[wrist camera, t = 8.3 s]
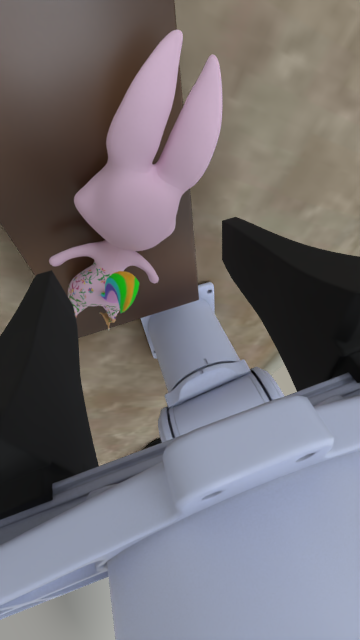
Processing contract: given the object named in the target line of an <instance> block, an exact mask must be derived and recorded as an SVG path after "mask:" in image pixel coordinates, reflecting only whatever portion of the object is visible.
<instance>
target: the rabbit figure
mask: <svg viewBox="0 0 360 640" xmlns="http://www.w3.org/2000/svg"><path fill="white" fill-rule="evenodd" d="M182 41H183V35H182V32H181V31H180V30H173V31H171V32H170V33H169V34H168V35H166V36H165V38H164V39H163V40H162V41H161V42H160V43H159V44H158V45H157V47H156V48H155V49H154V51H153V52H152V53H151V55H150V56H149V58H148V59H147V60H146V62H145V63H144V64H143V66H142V67H141V69H140V70H139V72H138V73H137V75H136V76H135V78H134V80H133V81H132V83H131V85H130V87H129V88H128V90H127V92H126V94H125V96H124V98H123V100H122V102H121V104H120V106H119V108H118V110H117V112H116V114H115V116H114V118H113V120H112V123H111V125H110V128H109V131H108V134H107V139H106V147H107V153H108V161H107V164H106V165H105V166H104V167H103V168H102V169H101V170H100V171H99V172H98V173H97V174H96V175H95V176H94V177H93V178H92V179H91V180H90V181H89V182H88V183H87V184H86V185H85V186H84V187H83V188H81V189H80V190H79V191H78V192H77V193H76V195H75V197H74V204H75V206H76V208H77V210H78V211H79V213H80V214H81V215H82V217H83V218H84V219H85V220H86V221H87V223H88V224H89V225H90V226H91V227H92V228H93V229H94V230H95V231H96V232H97V233H98V234H99V235H101V236H102V237H103V238H104V239H105V240H104V241H101V242H95V243H88V244H84V245H80V246H76V247H73V248H70V249H67V250H65V251H62V252H60V253H58V254H56V255H54V256H52V257H51V258H50V259H49V263H50V264H51V265H52V266H59V265H61V264H63V263H64V262H65V261H67V260H69V259H72V258H76V257H81V256H88V257H91V258H93V259H94V263H93V265H91V266H90V267H88V268H86V269H85V270H83V271H82V272H80V273H79V274H77V275H76V276H75V277H74V278H73V279H72V281H71V282H70V284H69V287H68V298H69V300H70V301H71V303H72V305H73V307H74V312H75V317H77V314H79V313H80V312H81V311H83V310H84V309H85V308H87V307H88V306H103V308H104V309H105V311H106V313H101V312H100V314H102V315H103V317H104V319H105V321H106V324H107V325H108V331H109V326H110V323H111V322H113V323H114V322H115V321H116V316H117V314H118V313H119V311H120V313H123V312H124V311H126V310H127V309H128V308H129V307H130V306H131V305H132V303H133V301H134V300H135V297H136V295H137V292H138V289H139V281H138V280H137V278H136V277H135V276H134V275H133V274H131V273H129V272H126V271H124V270H125V268H127V267H129V266H137V267H139V268H141V269H142V270H144V271H145V272H146V273H147V275H148V278H149V280H150V282H152V283H157V282H158V280H159V278H158V275H157V274H156V272H155V270H154V269H153V267H152V266H151V265H150V263H149V262H148V261H147V260H146V259H144V258H143V257H142V256H141V255H140V254H138V253H137V252H135V251H143V250H147V249H150V248H152V247H154V246H156V245H157V244H159V243H160V242H161V241H163V240H164V239H165V238H167V237H168V236H169V235H171V234H172V233H173V231H174V229H175V225H176V214H177V211H178V206H179V202H180V199H181V196H182V195H183V194H184V193H185V192H186V191H187V190H188V189H190V188H191V187H192V186H194V185H195V184H196V183H197V182H198V181H199V179H200V178H201V177H202V175H203V174H204V172H205V170H206V169H207V167H208V165H209V163H210V160H211V158H212V155H213V153H214V150H215V147H216V144H217V141H218V137H219V133H220V128H221V121H222V82H221V73H220V66H219V62H218V59H217V57H216V56H215V55H213V54H212V55H210V56H209V58H208V59H207V62H206V64H205V66H204V68H203V70H202V72H201V74H200V76H199V77H198V79H197V81H196V83H195V85H194V86H193V88H192V90H191V92H190V93H189V95H188V97H187V99H186V102H185V104H184V106H183V108H182V110H181V112H180V114H179V116H178V118H177V121H176V123H175V125H174V127H173V129H172V131H171V133H170V135H169V138H168V140H167V142H166V145H165V147H164V149H163V152H162V154H161V156H160V158H159V160H158V162H157V163H156V164H154V165H153V164H152V162H153V159H154V157H155V155H156V153H157V150H158V148H159V145H160V142H161V138H162V135H163V132H164V129H165V126H166V123H167V120H168V118H169V115H170V112H171V108H172V105H173V100H174V96H175V90H176V83H177V75H178V67H179V59H180V53H181V47H182Z"/></svg>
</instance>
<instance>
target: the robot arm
mask: <svg viewBox="0 0 360 640" xmlns="http://www.w3.org/2000/svg"><path fill="white" fill-rule="evenodd" d="M222 260H223V262H224V264H225V266H226V268H227V270H228V272H229V274H230V276H231V278H232V279H233V281H234V282H235V283H236V285H237V286H238V288H239V289H240V291H241V292H242V293H243V295H244V296H245V297H246V299H247V300H248V302H249V303H250V304H251V306H252V307H253V308H254V310H255V311H256V313H257V314H258V316H259V317H260V319H261V320H262V322H263V324H264V326H265V327H266V329H267V331H268V333H269V335H270V336H271V338H272V340H273V342H274V344H275V346H276V348H277V350H278V352H279V354H280V356H281V358H282V360H283V362H284V364H285V366H286V368H287V370H288V372H289V374H290V376H291V379H292V381H293V383H294V385H295V387H296V390H297V392H295V393H293V394H290V395H287V396H284V395H283V393H282V391H281V389H280V388H279V386H278V385H277V383H276V382H275V380H274V379H273V377H272V376H271V375H270V374H269V373H268V372H267V371H265V370H263V369H260V368H259V367H254V368H252V369H249V367H248V365H247V363H246V362H245V360H241V361H240V359H239V357H238V355H237V353H236V352H235V350H234V348H233V346H232V344H231V343H230V341H229V339H228V337H227V335H226V334H225V332H224V330H223V328H222V327H221V325H220V323H219V321H218V319H217V318H216V316H215V312H214V285H213V284H212V283H211V282H208V283H204V284H201V285H198V292H199V300H197V301H194V302H191V303H188V304H185V305H181V306H178V307H175V308H172V309H169V310H165V311H162V312H159V313H156V314H153V315H150V316H146V317H143V318H140V319H141V322H142V325H143V328H144V331H145V334H146V337H147V340H148V343H149V346H150V349H151V352H152V355H153V357H154V358H157V359H158V362H159V365H160V368H161V371H162V374H163V377H164V380H165V383H166V386H167V390H168V393H167V394H165V398H166V402H167V405H168V406H167V407H165V408H163V409H162V410H161V413H160V416H159V419H158V428H159V434H160V438H161V442H162V443H160V444H157V445H154V446H152V447H149V448H146V449H144V450H141V451H138V452H136V453H133V454H130V455H128V456H125V457H122V458H120V459H117V460H114V461H112V462H109V463H106V464H104V465H101V466H98V462H97V458H96V453H95V449H94V445H93V441H92V436H91V431H90V427H89V422H88V417H87V412H86V407H85V402H84V396H83V390H82V385H81V378H80V365H79V345H78V328H77V322H76V317H75V312H74V307H73V305H72V303H71V301H70V300H69V298H68V296H67V295H66V293H65V291H64V290H63V288H62V286H61V285H60V283H59V281H58V279H57V278H56V276H55V274H54V273H53V271H52V270H51V271H47V272H44V273H40V274H37V275H36V276H35V278H34V280H33V282H32V283H31V285H30V287H29V289H28V291H27V293H26V295H25V297H24V298H23V300H22V302H21V304H20V306H19V307H18V309H17V311H16V313H15V314H14V316H13V317H12V319H11V321H10V322H9V324H8V325H7V327H6V328H5V330H4V332H3V333H2V334H1V336H0V620H1V619H3V618H5V617H8V616H11V615H13V614H15V613H18V612H21V611H23V610H26V609H28V608H31V607H33V606H36V605H38V604H41V603H43V602H46V601H48V600H51V599H53V598H56V597H58V596H61V595H64V594H66V593H69V592H71V591H73V590H76V589H79V588H81V587H83V586H86V585H89V584H91V583H94V582H96V581H98V580H101V579H104V578H106V577H109V585H110V594H111V602H112V612H113V620H114V630H115V639H116V640H360V257H358V256H351V255H346V254H341V253H335V252H331V251H326V250H322V249H318V248H315V247H311V246H307V245H304V244H301V243H298V242H295V241H292V240H290V239H287V238H284V237H282V236H279V235H277V234H274V233H272V232H270V231H267V230H265V229H263V228H261V227H258V226H256V225H254V224H252V223H249V222H247V221H245V220H242V219H240V218H237V217H234V218H230V219H227V220H224V221H222ZM208 290H209V291H208Z"/></svg>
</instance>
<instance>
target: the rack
mask: <svg viewBox="0 0 360 640" xmlns="http://www.w3.org/2000/svg"><path fill="white" fill-rule="evenodd" d="M173 30H177V27H176V15H175V3H174V0H0V223H1V224H2V226H3V227H4V229H5V230H6V232H7V234H8V235H9V237H10V238H11V240H12V241H13V243H14V244H15V246H16V247H17V249H18V250H19V252H20V253H21V255H22V256H23V258H24V259H25V261H26V262H27V264H28V265H29V267H30V269H31V270H32V272H33V273H34V275H35V276H36V275H37V274H40V273H44V272H47V271H51V270H52V271H53V273H54V274H55V276H56V278H57V279H58V281H59V283H60V285H61V286H62V288H63V290H64V291H65V293H66V295H67V296H68V287H69V284H70V282H71V281H72V279H73V278H74V277H75V276H76V275H77V274H79V273H80V272H82V271H83V270H85V269H86V268H88V267H90V266H91V265H93V263H94V259H93V258H91V257H88V256H81V257H76V258H72V259H69V260H67V261H65V262H64V263H63V264H61V265H59V266H52V265H51V264H50V263H49V259H50V258H51V257H52V256H54V255H56V254H58V253H60V252H62V251H65V250H67V249H70V248H73V247H76V246H80V245H84V244H88V243H95V242H101V241H104V240H105V239H104V238H103V237H102V236H101V235H99V234H98V233H97V232H96V231H95V230H94V229H93V228H92V227H91V226H90V225H89V224H88V223H87V221H86V220H85V219H84V218H83V217H82V215H81V214H80V213H79V211H78V210H77V208H76V206H75V204H74V197H75V195H76V193H77V192H78V191H79V190H80V189H81V188H83V187H84V186H85V185H86V184H87V183H88V182H89V181H90V180H91V179H92V178H93V177H94V176H95V175H96V174H97V173H98V172H99V171H100V170H101V169H102V168H103V167H104V166H105V165H106V164H107V161H108V153H107V147H106V139H107V134H108V131H109V128H110V125H111V123H112V120H113V118H114V116H115V114H116V112H117V110H118V108H119V106H120V104H121V102H122V100H123V98H124V96H125V94H126V92H127V90H128V88H129V87H130V85H131V83H132V81H133V80H134V78H135V76H136V75H137V73H138V72H139V70H140V69H141V67H142V66H143V64H144V63H145V62H146V60H147V59H148V58H149V56H150V55H151V53H152V52H153V51H154V49H155V48H156V47H157V45H158V44H159V43H160V42H161V41H162V40H163V39H164V38H165V36H166V35H168V34H169V33H170V32H171V31H173ZM182 108H183V99H182V87H181V75H180V63H179V67H178V75H177V83H176V90H175V96H174V100H173V105H172V108H171V112H170V115H169V118H168V120H167V123H166V126H165V129H164V132H163V135H162V138H161V142H160V145H159V148H158V150H157V153H156V155H155V157H154V159H153V162H152V164H153V165H154V164H156V163H157V162H158V160H159V158H160V156H161V154H162V152H163V149H164V147H165V145H166V142H167V140H168V138H169V135H170V133H171V131H172V129H173V127H174V125H175V123H176V121H177V118H178V116H179V114H180V112H181V110H182ZM135 252H137V253H138V254H140V255H141V256H142V257H143V258H144V259H146V260H147V261H148V262H149V263H150V265H151V266H152V267H153V269H154V270H155V272H156V274H157V275H158V278H159V280H158V282H157V283H152V282H150V280H149V278H148V275H147V273H146V272H145V271H144V270H142V269H141V268H139V267H137V266H129V267H127V268H125V270H124V271H126V272H129V273H131V274H133V275H134V276H135V277H136V278H137V280H138V281H139V289H138V292H137V295H136V297H135V300H134V301H133V303H132V305H131V306H130V307H129V308H128V309H127V310H126V311H124V312H123V313H120V311H119V313H118V314H117V316H116V321H115V322H114V323H113V322H111V323H110V326H109V328H111V327H115V326H118V325H121V324H124V323H127V322H130V321H134V320H137V319H140V318H143V317H146V316H150V315H153V314H156V313H159V312H162V311H165V310H169V309H172V308H175V307H178V306H181V305H185V304H188V303H191V302H194V301H197V300H199V292H198V280H197V268H196V256H195V244H194V231H193V219H192V207H191V195H190V189H188V190H187V191H186V192H185V193H184V194H183V195H182V196H181V199H180V202H179V206H178V211H177V214H176V225H175V229H174V231H173V233H172V234H171V235H169V236H168V237H167V238H165V239H164V240H163V241H161V242H160V243H159V244H157V245H156V246H154V247H152V248H150V249H147V250H143V251H135ZM100 312H101V313H106V311H105V309H104V308H103V306H88V307H87V308H85V309H84V310H83V311H81V312H80V313H79V314H77V317H76V322H77V328H78V338H80V337H83V336H86V335H89V334H92V333H95V332H99V331H102V330H105V329H108V325H107V324H106V321H105V319H104V317H103V315H102V314H100Z"/></svg>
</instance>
